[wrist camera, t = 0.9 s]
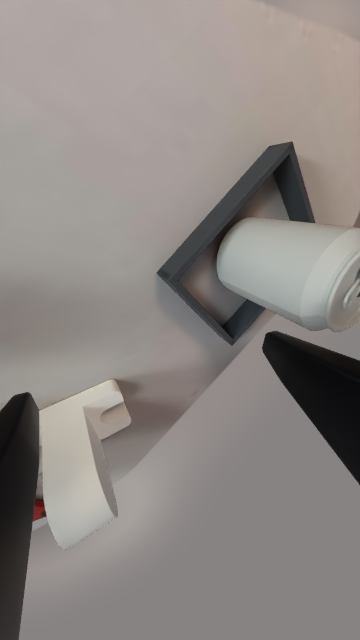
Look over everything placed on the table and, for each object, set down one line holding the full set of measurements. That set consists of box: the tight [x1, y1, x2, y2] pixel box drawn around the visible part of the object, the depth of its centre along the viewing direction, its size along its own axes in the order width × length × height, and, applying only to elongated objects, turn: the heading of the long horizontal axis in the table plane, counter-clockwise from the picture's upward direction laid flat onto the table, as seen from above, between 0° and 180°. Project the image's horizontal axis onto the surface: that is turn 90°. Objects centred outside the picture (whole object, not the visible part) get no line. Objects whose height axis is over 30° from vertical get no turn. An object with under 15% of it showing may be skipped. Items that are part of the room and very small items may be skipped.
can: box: [216, 217, 360, 332], centre depth 20 cm, size 8×8×12 cm
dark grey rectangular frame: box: [157, 142, 315, 345], centre depth 24 cm, size 15×12×2 cm
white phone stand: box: [38, 379, 131, 550], centre depth 20 cm, size 5×10×10 cm, turn 99°
